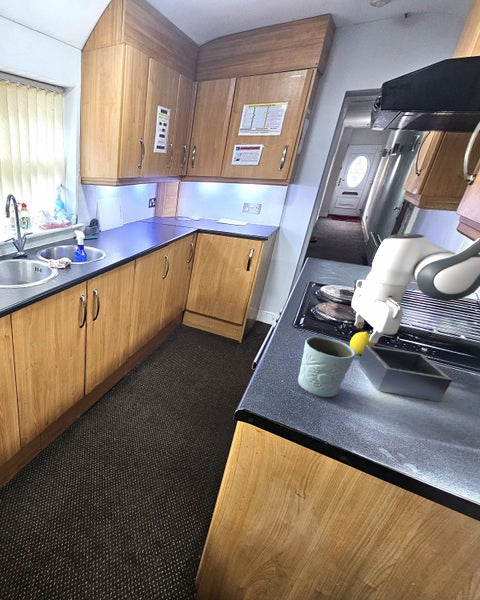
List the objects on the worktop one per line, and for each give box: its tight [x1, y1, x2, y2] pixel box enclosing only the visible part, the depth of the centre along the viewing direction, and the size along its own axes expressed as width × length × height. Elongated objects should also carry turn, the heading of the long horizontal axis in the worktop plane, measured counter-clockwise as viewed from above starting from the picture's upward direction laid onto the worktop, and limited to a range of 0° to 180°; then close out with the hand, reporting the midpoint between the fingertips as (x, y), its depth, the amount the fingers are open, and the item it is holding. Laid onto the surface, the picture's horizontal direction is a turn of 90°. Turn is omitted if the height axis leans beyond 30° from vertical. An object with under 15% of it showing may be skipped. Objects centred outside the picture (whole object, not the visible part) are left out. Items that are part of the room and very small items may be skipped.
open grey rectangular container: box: [357, 345, 453, 403], centre depth 86 cm, size 13×13×7 cm
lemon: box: [349, 331, 376, 356], centre depth 98 cm, size 6×6×8 cm
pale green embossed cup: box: [297, 336, 357, 398], centre depth 83 cm, size 10×10×12 cm
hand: (364, 334), depth 97 cm, fingers open, 8 cm apart
